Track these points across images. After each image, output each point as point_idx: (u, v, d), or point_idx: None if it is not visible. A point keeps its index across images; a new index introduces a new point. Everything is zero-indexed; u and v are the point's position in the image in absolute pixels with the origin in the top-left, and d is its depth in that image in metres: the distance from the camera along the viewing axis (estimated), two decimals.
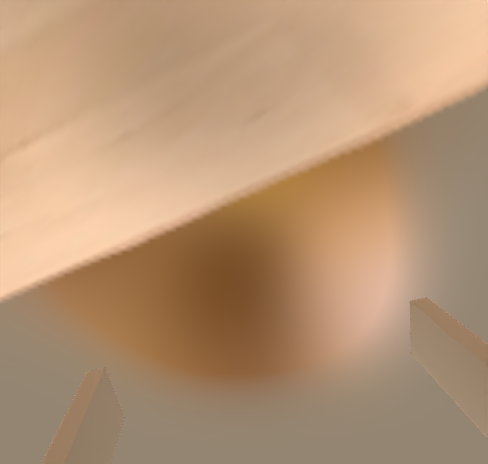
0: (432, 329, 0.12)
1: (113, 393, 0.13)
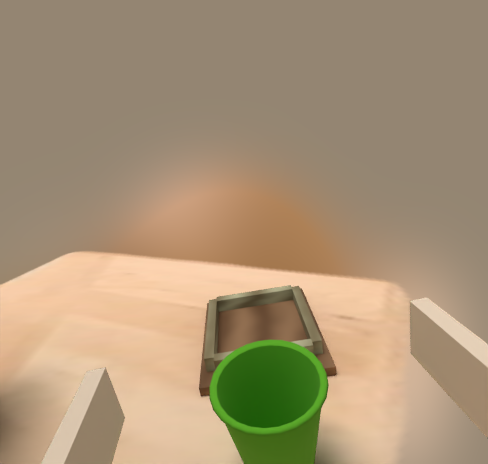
0: (433, 329, 0.12)
1: (113, 393, 0.13)
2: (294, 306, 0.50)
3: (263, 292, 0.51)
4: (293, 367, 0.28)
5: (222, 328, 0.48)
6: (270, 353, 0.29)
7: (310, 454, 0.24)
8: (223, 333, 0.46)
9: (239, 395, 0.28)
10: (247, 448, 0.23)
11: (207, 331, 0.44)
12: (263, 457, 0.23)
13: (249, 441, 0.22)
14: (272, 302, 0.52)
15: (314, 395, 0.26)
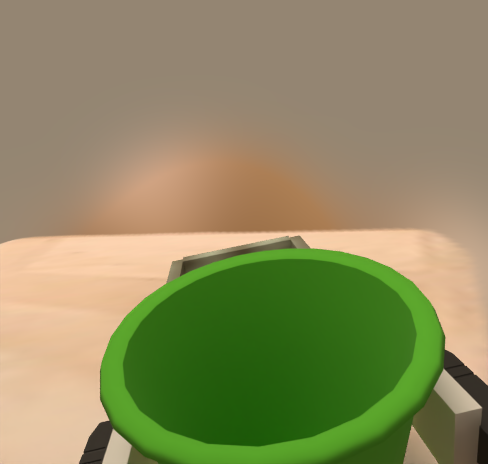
0: None
1: None
2: None
3: (249, 246, 0.36)
4: (317, 302, 0.13)
5: None
6: (265, 278, 0.13)
7: None
8: None
9: (200, 374, 0.12)
10: None
11: None
12: None
13: None
14: None
15: (378, 355, 0.11)
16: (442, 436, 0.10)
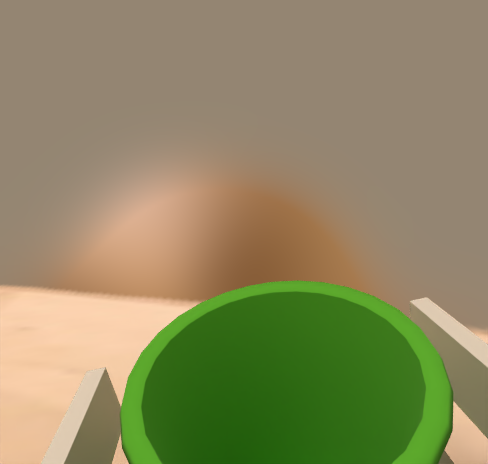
0: (432, 329, 0.12)
1: (113, 393, 0.13)
2: None
3: None
4: (325, 335, 0.13)
5: None
6: (274, 309, 0.14)
7: None
8: None
9: (210, 403, 0.13)
10: None
11: None
12: None
13: None
14: None
15: (385, 393, 0.11)
16: None
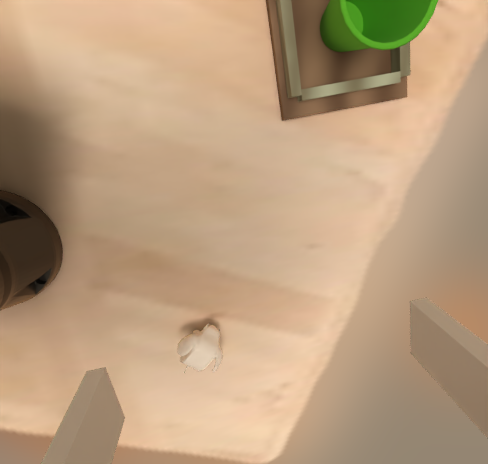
0: (432, 329, 0.12)
1: (113, 393, 0.13)
2: None
3: None
4: None
5: (293, 19, 0.37)
6: None
7: None
8: (296, 31, 0.38)
9: None
10: (354, 43, 0.31)
11: (287, 46, 0.36)
12: (361, 47, 0.32)
13: (362, 44, 0.30)
14: None
15: None
16: None
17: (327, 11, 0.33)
